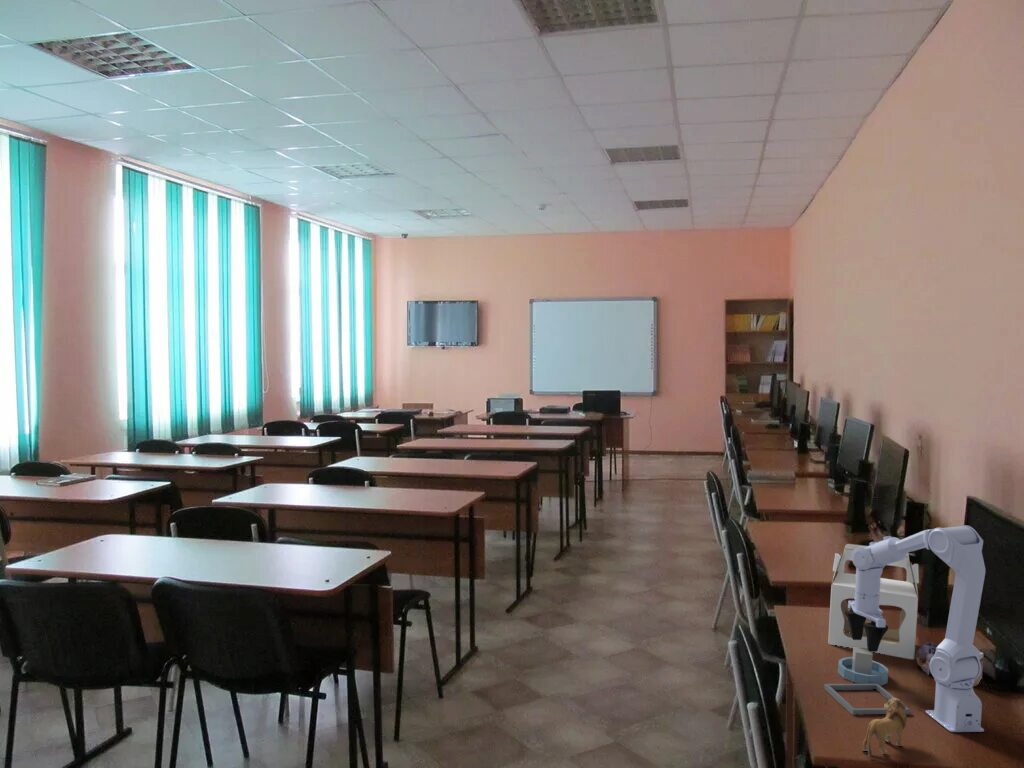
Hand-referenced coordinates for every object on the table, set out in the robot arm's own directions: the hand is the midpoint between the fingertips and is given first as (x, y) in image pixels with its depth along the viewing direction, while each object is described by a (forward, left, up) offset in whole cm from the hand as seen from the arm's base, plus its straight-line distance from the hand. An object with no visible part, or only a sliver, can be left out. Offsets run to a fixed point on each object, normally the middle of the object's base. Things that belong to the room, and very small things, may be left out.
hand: (864, 645), depth 202 cm
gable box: (+21, -14, -8) cm, 27 cm away
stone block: (0, 0, -8) cm, 8 cm away
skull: (+3, -21, -8) cm, 23 cm away
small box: (-4, -26, -8) cm, 28 cm away
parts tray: (-14, +7, -8) cm, 18 cm away
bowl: (0, 0, -8) cm, 8 cm away
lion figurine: (-34, +14, -8) cm, 38 cm away
